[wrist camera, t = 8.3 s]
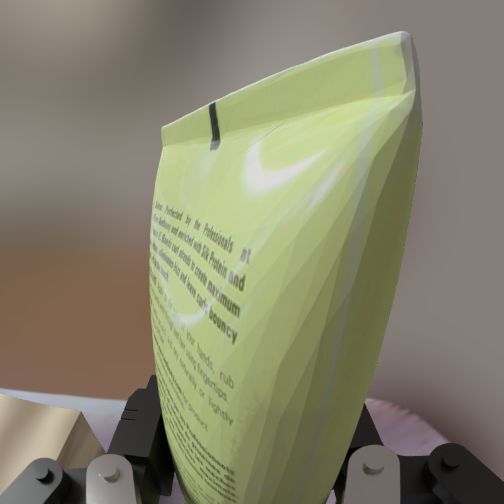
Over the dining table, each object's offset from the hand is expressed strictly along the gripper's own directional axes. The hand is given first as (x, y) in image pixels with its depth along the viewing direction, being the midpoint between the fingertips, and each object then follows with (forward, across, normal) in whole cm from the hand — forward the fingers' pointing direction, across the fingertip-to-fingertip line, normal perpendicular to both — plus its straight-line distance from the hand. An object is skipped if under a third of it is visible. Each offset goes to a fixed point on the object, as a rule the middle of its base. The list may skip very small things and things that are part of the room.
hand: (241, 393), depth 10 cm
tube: (-3, 0, +11) cm, 12 cm away
